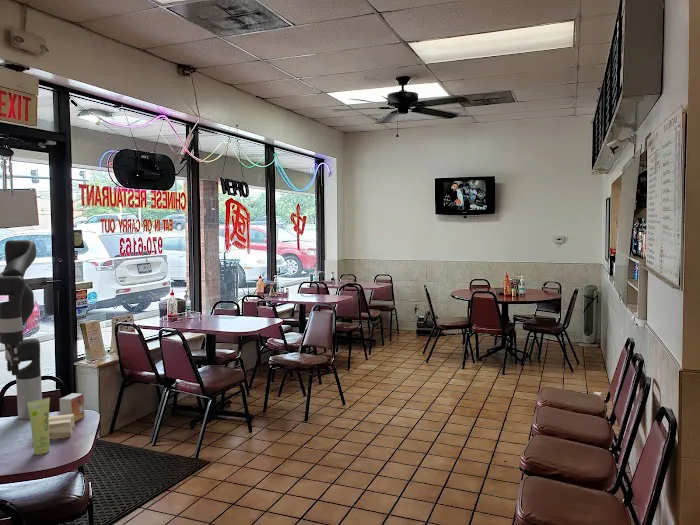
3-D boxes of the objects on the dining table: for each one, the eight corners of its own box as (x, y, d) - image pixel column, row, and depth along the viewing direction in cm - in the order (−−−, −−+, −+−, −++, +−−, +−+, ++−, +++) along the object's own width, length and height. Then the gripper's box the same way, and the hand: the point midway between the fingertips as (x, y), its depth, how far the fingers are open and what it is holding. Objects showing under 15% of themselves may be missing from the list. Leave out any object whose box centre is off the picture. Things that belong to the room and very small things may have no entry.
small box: (72, 424, 232) (70, 399, 231) (60, 423, 233) (58, 398, 233) (85, 417, 240) (83, 393, 239) (73, 416, 241) (72, 392, 240)
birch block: (41, 432, 224) (40, 417, 224) (74, 428, 228) (73, 413, 227) (35, 441, 215) (34, 426, 214) (70, 437, 218) (69, 422, 218)
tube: (43, 456, 202) (40, 402, 200) (29, 455, 202) (26, 402, 200) (52, 449, 207) (49, 397, 206) (39, 449, 207) (36, 397, 206)
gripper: (26, 331, 207) (28, 374, 208) (18, 326, 218) (20, 367, 219) (3, 333, 203) (5, 378, 203) (-4, 328, 213) (-2, 371, 214)
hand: (13, 372), depth 211 cm, fingers open, 8 cm apart
